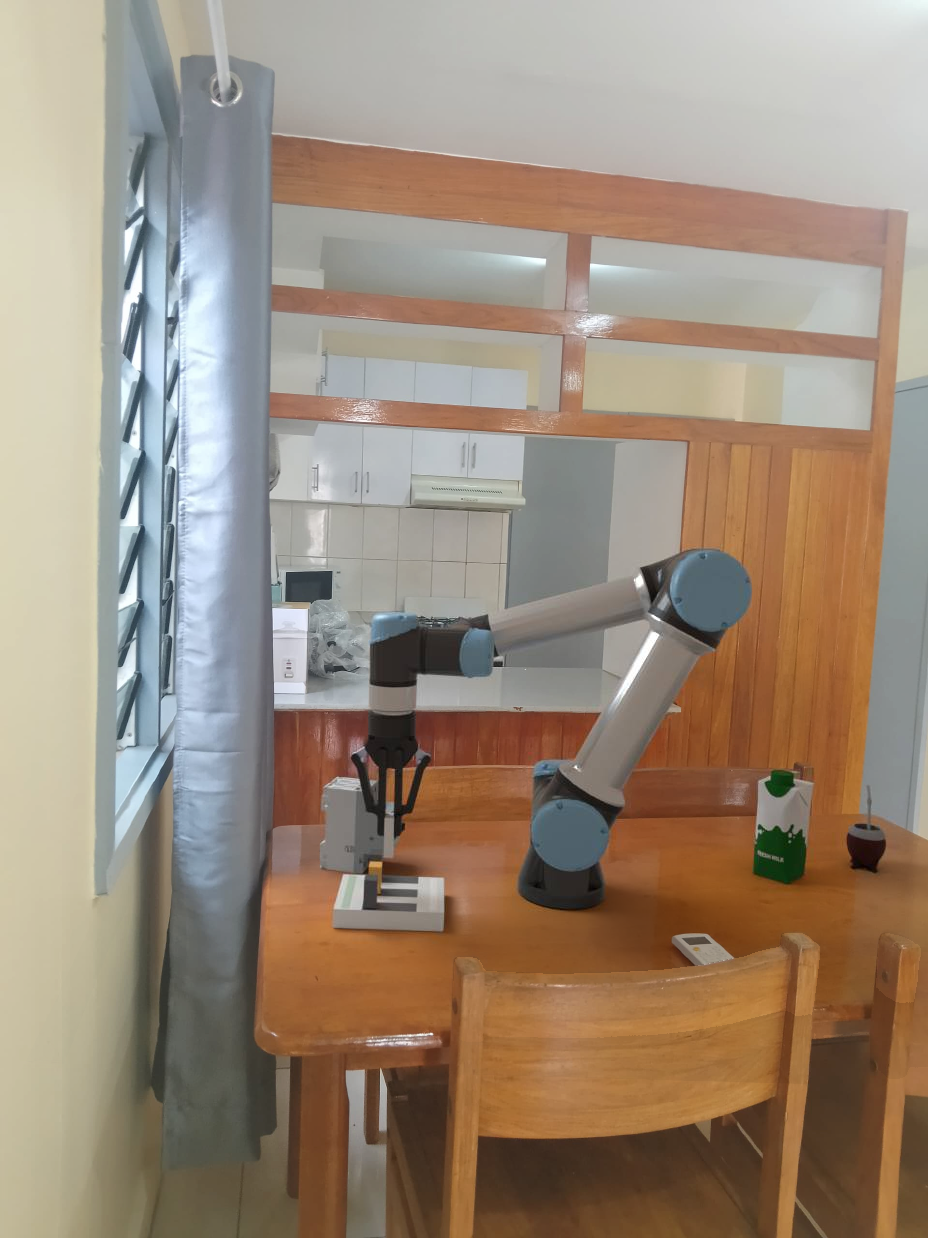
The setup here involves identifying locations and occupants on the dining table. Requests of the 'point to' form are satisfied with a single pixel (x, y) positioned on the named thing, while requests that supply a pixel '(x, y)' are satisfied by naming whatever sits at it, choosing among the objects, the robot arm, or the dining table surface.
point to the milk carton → (782, 826)
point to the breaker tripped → (376, 872)
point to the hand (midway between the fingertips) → (388, 854)
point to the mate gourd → (866, 843)
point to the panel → (391, 904)
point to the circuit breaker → (350, 826)
